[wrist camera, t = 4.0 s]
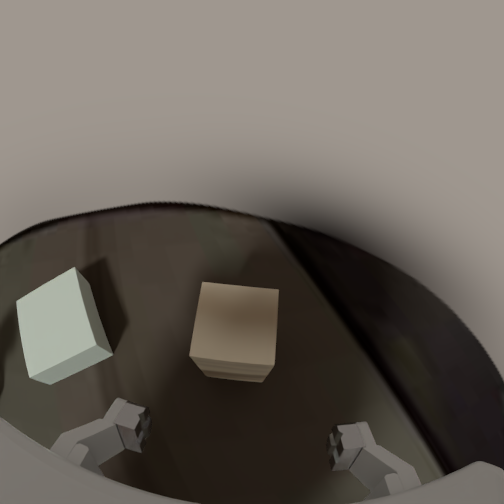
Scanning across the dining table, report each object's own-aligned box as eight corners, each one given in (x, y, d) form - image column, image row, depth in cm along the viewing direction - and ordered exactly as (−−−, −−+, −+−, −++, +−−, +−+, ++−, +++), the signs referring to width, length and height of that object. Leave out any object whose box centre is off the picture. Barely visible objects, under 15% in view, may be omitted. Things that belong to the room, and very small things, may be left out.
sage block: (51, 385, 20) (29, 377, 17) (35, 315, 24) (16, 301, 21) (114, 355, 23) (96, 344, 20) (90, 285, 27) (74, 267, 24)
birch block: (262, 382, 22) (274, 365, 15) (206, 376, 22) (189, 355, 15) (266, 331, 25) (278, 289, 18) (213, 325, 25) (202, 281, 18)
